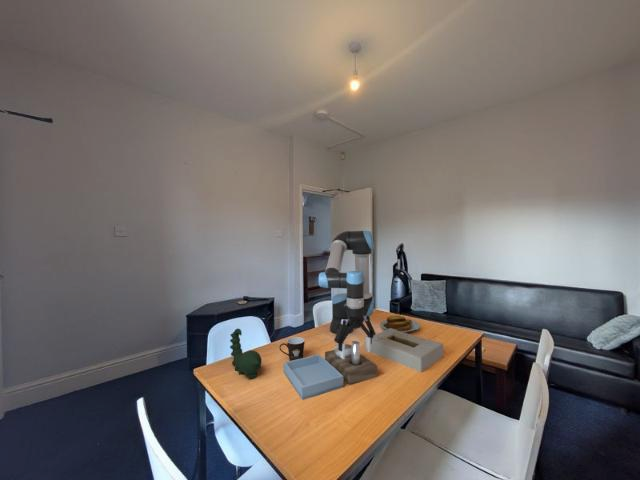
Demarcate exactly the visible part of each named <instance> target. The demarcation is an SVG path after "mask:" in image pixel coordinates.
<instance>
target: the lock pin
mask: <svg viewBox="0 0 640 480" xmlns="http://www.w3.org/2000/svg"><path fill="white" fill-rule="evenodd" d="M360 344H361V343H360V341H355V340H354V341H351V346H352V365H353V366H358V365H360V354H361V352H360Z"/></svg>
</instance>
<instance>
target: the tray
mask: <svg viewBox="0 0 640 480" xmlns="http://www.w3.org/2000/svg"><path fill="white" fill-rule="evenodd" d="M283 374H284V376H285V377H286V378H287V380H288V381H289V383H290V384H291V385H292V387H293V388H294V391H296V393H297V394H298V396H299V397H300V399H301V400H302V401H303V400H306V399H309V398H314V397H317V396H319V395H322V394H326V393H328V392H332V391H335V390H339V389H342V388H344V379H343V375H342V374H340V373H339V372H338V371H337V370H336V369H335V368H334V367H333V366H332V365H331V364H330V363H328V362H327V361H326V360H325V357H323V355H321V354H315V355H310V356H305V357H303V358H301V359H297V360H292V361H290V360H288V361H284V362H283Z"/></svg>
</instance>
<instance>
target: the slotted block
mask: <svg viewBox="0 0 640 480" xmlns="http://www.w3.org/2000/svg"><path fill="white" fill-rule="evenodd" d="M364 344H365V350H366V338H364ZM370 353H371V354H372V353H373V354H374V355H378V356H380V357H382V358H385V359H388V360H390V361H392V362H395V363H397V364H400V365H402V366H405V367H407V368H409V369H412V370H413V371H414V370H415V371H417V372H419V373H422V372H424V371H425V370H426V369H428V368H429V367H431V366H432V365H434V364H435V363H436V362H438V361H439V360H441V359H442V358H443V357H444V344H443V343H441V342H439V341H435V340H431V339H428V338H427V339H426V338H423V337H420V336H416V335H413V334H409V333H408V332H406V333H405V332H400V331H398V330H395V329H392V328H389V329H388V330H387V329H384V330H383V331H380V332H378V333H376V334H375V335H373V338H372V344H371V352H370Z"/></svg>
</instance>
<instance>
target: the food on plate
mask: <svg viewBox="0 0 640 480" xmlns="http://www.w3.org/2000/svg"><path fill="white" fill-rule="evenodd" d="M380 327H381V328H382V329H383V330H388V329H389V328H392V329H395V330H398V331H400V332H404V333H409V332H413V331H416V330H417V331H419V328H421V324H420V323H419V322H418V321H416V320H412V319H407V318H406V317H405V316H401V315H390V316H388V317H387V318H386V320H384V321H382V322H381V323H380Z"/></svg>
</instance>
